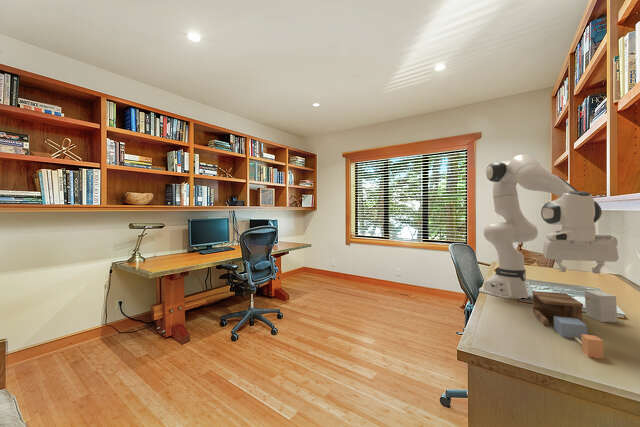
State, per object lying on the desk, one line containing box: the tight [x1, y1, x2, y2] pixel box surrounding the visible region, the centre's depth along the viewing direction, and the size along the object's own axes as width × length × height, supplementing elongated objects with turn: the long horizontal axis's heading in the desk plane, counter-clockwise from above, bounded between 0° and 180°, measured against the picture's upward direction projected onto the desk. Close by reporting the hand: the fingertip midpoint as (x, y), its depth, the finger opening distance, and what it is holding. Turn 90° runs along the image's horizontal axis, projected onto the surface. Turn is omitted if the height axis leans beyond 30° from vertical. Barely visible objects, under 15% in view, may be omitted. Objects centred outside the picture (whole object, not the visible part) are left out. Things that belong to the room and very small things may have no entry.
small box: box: [584, 289, 618, 323], centre depth 108 cm, size 8×6×10 cm
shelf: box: [531, 290, 584, 327], centre depth 107 cm, size 14×11×10 cm
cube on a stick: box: [553, 316, 605, 360], centre depth 90 cm, size 21×7×6 cm, turn 156°
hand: (579, 272), depth 98 cm, fingers open, 8 cm apart
